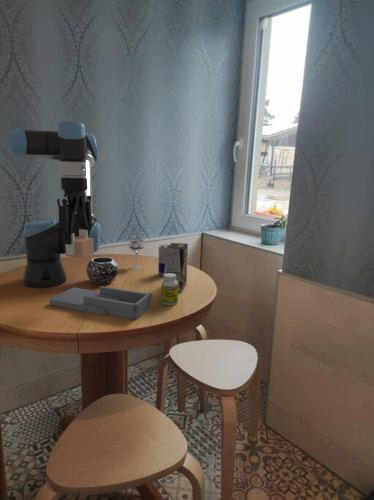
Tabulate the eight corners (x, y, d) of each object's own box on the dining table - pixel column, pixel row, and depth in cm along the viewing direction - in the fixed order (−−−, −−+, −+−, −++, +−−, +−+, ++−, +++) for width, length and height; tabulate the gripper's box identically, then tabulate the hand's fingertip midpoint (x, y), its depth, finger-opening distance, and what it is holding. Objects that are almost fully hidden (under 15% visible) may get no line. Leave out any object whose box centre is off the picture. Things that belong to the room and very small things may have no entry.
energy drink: (158, 272, 148) (158, 244, 145) (171, 272, 149) (171, 244, 146) (158, 276, 143) (158, 247, 140) (171, 276, 143) (172, 247, 140)
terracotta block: (66, 255, 109) (65, 240, 108) (77, 251, 115) (77, 236, 114) (82, 258, 107) (81, 242, 106) (93, 253, 113) (93, 238, 112)
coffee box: (182, 292, 126) (183, 248, 122) (164, 291, 127) (165, 247, 123) (187, 284, 134) (188, 243, 130) (170, 283, 136) (171, 242, 132)
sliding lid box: (49, 305, 112) (48, 291, 111) (73, 292, 123) (72, 280, 122) (134, 321, 102) (134, 306, 101) (152, 306, 114) (152, 292, 112)
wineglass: (136, 264, 159) (136, 238, 156) (147, 267, 155) (147, 240, 152) (125, 267, 153) (125, 240, 150) (136, 270, 150) (136, 243, 147)
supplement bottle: (176, 299, 120) (176, 271, 118) (179, 305, 115) (179, 277, 113) (160, 299, 119) (160, 272, 116) (162, 306, 114) (163, 277, 111)
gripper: (63, 178, 96) (68, 260, 101) (102, 176, 113) (104, 246, 119) (41, 177, 98) (46, 257, 104) (82, 175, 116) (85, 244, 121)
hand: (77, 251), depth 111 cm, fingers closed on terracotta block, 6 cm apart
